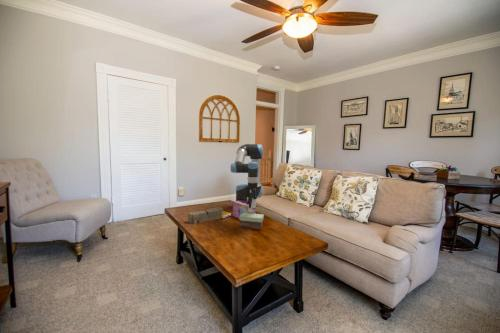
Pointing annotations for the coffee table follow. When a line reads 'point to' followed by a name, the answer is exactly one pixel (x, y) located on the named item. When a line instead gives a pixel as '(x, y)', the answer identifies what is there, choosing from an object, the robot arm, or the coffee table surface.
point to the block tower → (205, 215)
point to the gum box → (241, 208)
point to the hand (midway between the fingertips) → (252, 209)
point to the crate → (251, 224)
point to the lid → (252, 217)
